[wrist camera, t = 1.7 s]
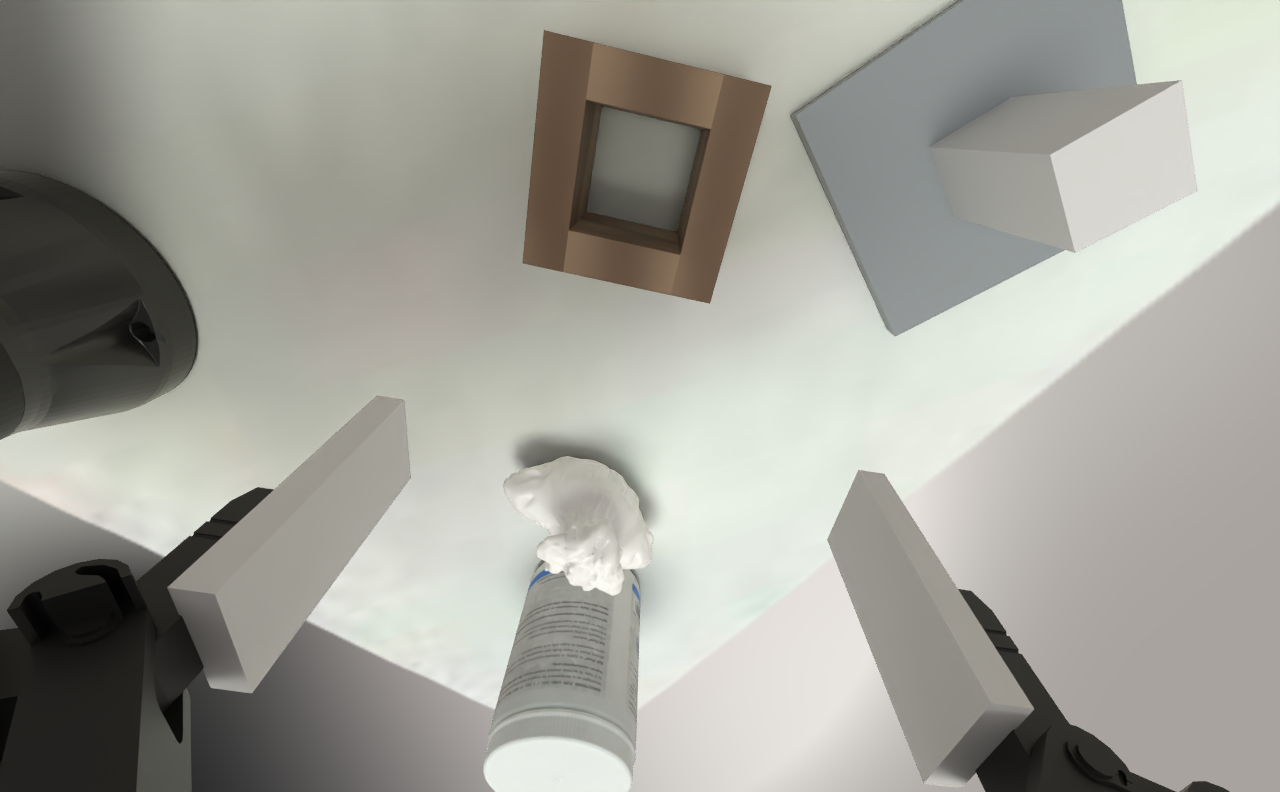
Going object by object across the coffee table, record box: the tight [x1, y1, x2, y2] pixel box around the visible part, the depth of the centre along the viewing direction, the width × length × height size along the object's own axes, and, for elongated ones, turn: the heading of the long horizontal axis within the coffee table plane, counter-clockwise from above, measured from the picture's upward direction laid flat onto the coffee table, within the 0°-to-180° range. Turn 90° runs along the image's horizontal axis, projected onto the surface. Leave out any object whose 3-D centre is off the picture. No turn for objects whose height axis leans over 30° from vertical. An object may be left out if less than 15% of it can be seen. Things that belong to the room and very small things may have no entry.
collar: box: [523, 30, 771, 303], centre depth 25 cm, size 9×9×6 cm
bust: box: [503, 456, 653, 595], centre depth 34 cm, size 12×8×11 cm
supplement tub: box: [483, 562, 640, 792], centre depth 37 cm, size 10×10×15 cm
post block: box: [791, 0, 1197, 336], centre depth 22 cm, size 14×14×10 cm
